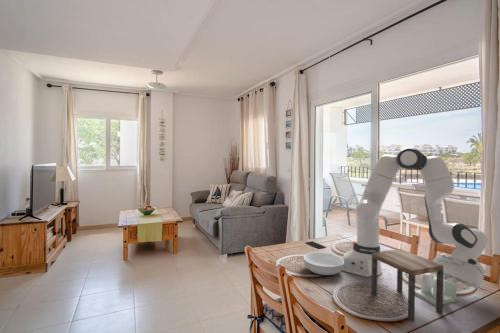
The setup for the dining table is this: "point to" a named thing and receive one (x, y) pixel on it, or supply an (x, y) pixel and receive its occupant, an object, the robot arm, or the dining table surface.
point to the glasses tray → (447, 293)
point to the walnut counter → (412, 267)
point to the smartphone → (315, 245)
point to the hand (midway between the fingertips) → (445, 285)
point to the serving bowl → (323, 263)
